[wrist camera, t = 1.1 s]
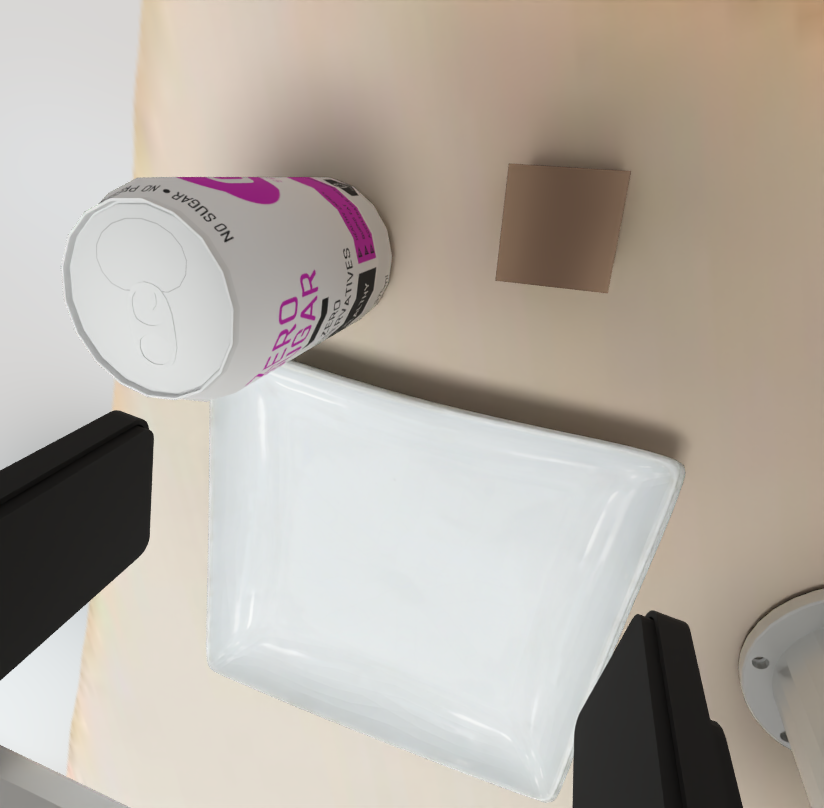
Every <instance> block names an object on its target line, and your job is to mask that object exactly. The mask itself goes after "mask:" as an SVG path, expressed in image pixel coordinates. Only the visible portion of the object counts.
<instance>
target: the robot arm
mask: <svg viewBox="0 0 824 808" xmlns="http://www.w3.org/2000/svg"><path fill="white" fill-rule="evenodd" d="M153 445H154V436H153V433H152V431H150V430H149V427H148V424H147V422H146V421H145V420H143V419H140V418H138V417H135V416H132V415H130V414H127V413H124V412H122V411H117V410H115V411H112V412H109V413H108V414H106V415H104V416H102V417H100V418H98V419H96V420H94V421H93V422H91V423H89V424H87V425H85V426H83V427H81V428H80V429H78V430H76V431H74V432H72V433H70V434H68V435H66V436H65V437H63V438H61V439H59V440H57V441H55V442H53V443H51V444H49V445H47V446H46V447H44V448H42V449H40V450H38V451H36V452H34V453H32V454H30V455H29V456H27V457H25V458H23V459H21V460H19V461H18V462H15V463H14V464H12V465H10V466H8V467H6V468H4V469H2V470H0V680H1V679H3V678H4V677H5V676H6V675H7V674H8V673H9V672H10V671H11V670H12V669H14V668H15V667H16V666H17V665H18V664H19V663H21V662H22V661H23V660H24V659H25V658H26V657H27V656H28V655H29V654H31V653H32V652H33V651H34V650H35V649H36V648H37V647H38V646H40V645H41V644H42V643H43V642H44V641H45V640H46V639H47V638H49V637H50V636H51V635H52V634H53V633H54V632H55V631H56V630H58V629H59V628H60V627H61V626H62V625H63V624H64V623H65V622H67V621H68V620H69V619H70V618H71V617H72V616H73V615H74V614H75V613H76V612H78V611H79V610H80V609H81V608H82V607H83V606H84V605H86V604H87V603H88V602H89V601H90V600H91V599H92V598H93V597H95V596H96V595H97V594H98V593H99V592H100V591H101V590H102V589H104V588H105V587H106V586H107V585H108V584H109V583H110V582H111V581H113V580H114V579H115V578H116V577H117V576H118V575H119V574H120V573H122V572H123V571H124V570H125V569H126V568H127V567H128V566H129V565H131V564H132V563H133V562H134V561H135V560H136V559H137V558H138V557H139V556H140V555H141V554H142V553H143V552H144V550H145V549H146V547H147V545H148V542H149V537H150V515H151V492H152V468H153ZM738 671H739V679H740V685H741V688H742V691H743V695H744V698H745V702H746V704H747V706H748V707H749V709H750V711H751V713H752V715H753V717H754V718H755V719H756V720H757V722H758V723H759V724H760V725H761V726H762V728H763V729H764V730H765V731H766V732H767V733H768V734H769V735H770V736H772V737H773V738H774V739H775V740H776V741H777V742H779V743H780V744H782V745H783V746H785V747H787V748H788V749H790V750H792V752H793V755H794V758H795V761H796V764H797V767H798V770H799V773H800V776H801V779H802V782H803V785H804V788H805V791H806V794H807V797H808V800H809V803H810V806H811V808H824V589H820V590H815V591H813V592H810V593H807V594H804V595H802V596H799V597H796V598H793V599H791V600H790V601H788V602H786V603H784V604H782V605H781V606H779V607H777V608H775V609H774V610H772V611H771V612H770V613H769V614H768V615H766V616H765V617H764V618H763V619H761V620H760V621H759V622H758V623H757V625H756V626H755V627H754V628H753V630H752V631H751V632H750V634H749V635H748V636H747V638H746V640H745V643H744V645H743V647H742V649H741V652H740V659H739V665H738ZM0 808H130V807H128V806H126V805H124V804H121V803H119V802H117V801H115V800H113V799H111V798H109V797H107V796H105V795H103V794H101V793H99V792H97V791H95V790H93V789H91V788H89V787H86V786H84V785H82V784H80V783H78V782H76V781H74V780H72V779H70V778H68V777H66V776H64V775H62V774H60V773H57V772H55V771H53V770H51V769H49V768H47V767H45V766H43V765H41V764H39V763H37V762H34V761H32V760H30V759H28V758H26V757H24V756H22V755H20V754H18V753H16V752H14V751H12V750H9V749H7V748H5V747H3V746H1V745H0ZM573 808H743V806H742V802H741V798H740V794H739V790H738V785H737V781H736V777H735V773H734V769H733V765H732V761H731V757H730V753H729V749H728V745H727V741H726V737H725V735H724V732H723V729H722V728H721V726H720V725H719V724H718V723H717V722H715V721H712V720H710V717H709V713H708V708H707V704H706V699H705V695H704V690H703V686H702V681H701V677H700V672H699V668H698V664H697V659H696V655H695V650H694V646H693V641H692V637H691V632H690V629H689V626H688V624H687V623H685V622H683V621H680V620H678V619H675V618H672V617H670V616H667V615H664V614H662V613H659V612H656V611H650V612H648V613H647V615H646V616H642V615H639V614H637V615H635V616H634V618H633V619H632V621H631V623H630V624H629V626H628V628H627V630H626V631H625V633H624V635H623V637H622V639H621V640H620V642H619V644H618V646H617V647H616V649H615V651H614V653H613V654H612V656H611V658H610V660H609V662H608V663H607V665H606V667H605V669H604V670H603V672H602V674H601V676H600V678H599V679H598V681H597V683H596V685H595V686H594V688H593V690H592V692H591V694H590V695H589V697H588V699H587V701H586V702H585V704H584V706H583V708H582V710H581V711H580V713H579V715H578V718H577V721H576V725H575V731H574V764H573Z"/></svg>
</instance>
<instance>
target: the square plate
mask: <svg viewBox="0 0 824 808" xmlns="http://www.w3.org/2000/svg"><path fill="white" fill-rule="evenodd" d="M684 478H685V469H684V465H683V464H682V463H680V462H679V461H677V460H675V459H673V458H670V457H666V456H663V455H660V454H657V453H653V452H650V451H646V450H643V449H639V448H635V447H631V446H626V445H622V444H617V443H613V442H609V441H605V440H600V439H595V438H590V437H585V436H580V435H576V434H571V433H566V432H562V431H557V430H552V429H548V428H543V427H539V426H534V425H529V424H525V423H520V422H515V421H511V420H507V419H502V418H498V417H494V416H489V415H485V414H481V413H476V412H472V411H468V410H464V409H460V408H455V407H451V406H447V405H443V404H439V403H435V402H431V401H427V400H424V399H420V398H416V397H412V396H409V395H405V394H401V393H398V392H394V391H390V390H387V389H383V388H380V387H377V386H374V385H370V384H367V383H364V382H360V381H357V380H354V379H350V378H347V377H344V376H340V375H337V374H334V373H331V372H328V371H325V370H321V369H318V368H315V367H312V366H309V365H305V364H302V363H299V362H296V361H293V360H290V361H288V362H287V363H285V364H283V365H282V366H280V367H278V368H277V369H275V370H273V371H272V372H270V373H268V374H266V375H265V376H263V377H261V378H260V379H258V380H256V381H255V382H253V383H251V384H249V385H248V386H246V387H244V388H243V389H241V390H239V391H238V392H236V393H234V394H230V395H227V396H224V397H220V398H217V399H214V400H211V401H210V434H209V532H208V578H207V638H206V651H207V662H208V665H209V667H210V668H211V669H212V670H213V671H215V672H216V673H218V674H220V675H222V676H224V677H227V678H229V679H232V680H234V681H236V682H239V683H241V684H243V685H246V686H248V687H250V688H253V689H255V690H257V691H260V692H262V693H264V694H267V695H269V696H271V697H274V698H276V699H278V700H281V701H283V702H286V703H288V704H290V705H293V706H295V707H298V708H300V709H303V710H305V711H307V712H310V713H312V714H315V715H317V716H319V717H322V718H324V719H327V720H329V721H332V722H335V723H337V724H339V725H342V726H344V727H347V728H349V729H352V730H354V731H357V732H359V733H362V734H364V735H367V736H369V737H372V738H374V739H377V740H379V741H382V742H384V743H387V744H390V745H392V746H395V747H397V748H400V749H403V750H405V751H408V752H410V753H413V754H415V755H418V756H420V757H423V758H426V759H428V760H431V761H433V762H436V763H438V764H441V765H444V766H446V767H449V768H452V769H454V770H457V771H460V772H462V773H465V774H467V775H470V776H473V777H475V778H478V779H481V780H483V781H486V782H489V783H491V784H494V785H497V786H499V787H502V788H505V789H507V790H510V791H513V792H515V793H518V794H521V795H524V796H527V797H530V798H533V799H536V800H538V801H541V802H545V803H546V802H552V801H554V800H555V799H556V797H557V796H558V794H559V792H560V790H561V788H562V785H563V783H564V780H565V778H566V775H567V773H568V770H569V768H570V765H571V762H572V760H573V757H574V731H575V725H576V721H577V718H578V715H579V713H580V711H581V710H582V708H583V706H584V704H585V702H586V701H587V699H588V697H589V695H590V694H591V692H592V690H593V688H594V686H595V685H596V683H597V681H598V679H599V678H600V676H601V674H602V672H603V670H604V669H605V667H606V665H607V663H608V662H609V660H610V658H611V656H612V654H613V652H614V649H615V647H616V644H617V642H618V640H619V637H620V635H621V632H622V630H623V627H624V625H625V623H626V620H627V618H628V615H629V613H630V611H631V608H632V606H633V604H634V601H635V599H636V597H637V594H638V592H639V590H640V587H641V585H642V583H643V580H644V578H645V576H646V573H647V571H648V569H649V566H650V564H651V562H652V559H653V557H654V555H655V552H656V550H657V548H658V545H659V543H660V541H661V538H662V536H663V533H664V531H665V528H666V526H667V524H668V521H669V519H670V516H671V514H672V511H673V509H674V506H675V504H676V501H677V498H678V496H679V493H680V490H681V487H682V484H683V481H684Z"/></svg>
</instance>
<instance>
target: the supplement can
mask: <svg viewBox="0 0 824 808" xmlns="http://www.w3.org/2000/svg"><path fill="white" fill-rule="evenodd" d="M391 261H392V253H391V248H390V242H389V237H388V232H387V228H386V227H385V225H384V223H383V221H382V219H381V218H380V216H379V214H378V212H377V210H376V208H375V207H374V205H373V204H372V203H371V202H370V201H369V200H368V199H366V198H365V197H364V196H363V195H362V194H361V193H360V192H359V191H358V190H357V189H356V188H354V187H353V186H350V185H348V184H345V183H343V182H340V181H338V180H335V179H333V178H330V177H152V178H136V179H134V180H132V181H130V182H128V183H127V184H125V185H123V186H121V187H119V188H117V189H115V190H113V191H112V192H110V193H108V194H107V195H106V196H105V197H104V199H103V200H102V201H101V202H100V203H99V204H98V205H96V206H94V207H93V208H90V209H89V210H87V211H85V212H84V213H83V215H82V216H81V218H80V219H79V220H78V222H77V223H76V225H75V226H74V227H73V229H72V230H71V232H70V233H69V235H68V237H67V242H66V246H65V251H64V255H63V260H62V264H61V271H62V283H63V294H64V301H65V304H66V307H67V309H68V312H69V315H70V318H71V320H72V323H73V326H74V328H75V331H76V333H77V335H78V336H79V338H80V339H81V341H82V342H83V344H84V345H85V347H86V348H87V350H88V351H89V353H90V354H91V355H92V357H93V359H94V360H95V361H96V362H97V363H98V364H99V365H100V366H101V367H102V368H103V369H104V370H106V371H107V372H108V373H109V374H110V375H111V376H112V377H113V378H114V379H115V380H117V381H118V382H119V383H120V384H122V385H124V386H126V387H128V388H130V389H132V390H134V391H136V392H138V393H140V394H142V395H145V396H147V397H151V398H161V399H170V400H178V399H185V400H194V401H204V402H207V401H211V400H214V399H217V398H220V397H224V396H227V395H230V394H234V393H236V392H238V391H239V390H241V389H243V388H244V387H246V386H248V385H249V384H251V383H253V382H255V381H256V380H258V379H260V378H261V377H263V376H265V375H266V374H268V373H270V372H272V371H273V370H275V369H277V368H278V367H280V366H282V365H283V364H285V363H287V362H288V361H290V360H292V359H294V358H295V357H297V356H299V355H300V354H302V353H304V352H305V351H307V350H309V349H311V348H312V347H314V346H316V345H317V344H319V343H321V342H322V341H324V340H326V339H327V338H329V337H331V336H333V335H334V334H336V333H338V332H339V331H341V330H343V329H344V328H346V327H348V326H349V325H351V324H353V323H355V322H356V321H358V320H360V319H361V318H362V317H363V316H364V315H365V314H367V313H368V312H369V311H370V310H371V309H372V308H374V307H375V306H376V305H377V304H378V302H379V300H380V298H381V296H382V294H383V292H384V290H385V289H386V287H387V285H388V283H389V276H390V269H391Z"/></svg>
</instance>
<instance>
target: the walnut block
mask: <svg viewBox="0 0 824 808" xmlns="http://www.w3.org/2000/svg"><path fill="white" fill-rule="evenodd" d="M630 174H631V171H620V170H604V169H588V168H571V167H555V166H539V165H523V164H509V167H508V176H507V184H506V193H505V202H504V210H503V219H502V228H501V236H500V245H499V254H498V262H497V271H496V280H495V281H504V282H513V283H522V284H530V285H539V286H548V287H557V288H566V289H575V290H583V291H592V292H601V293H608V289H609V284H610V279H611V273H612V268H613V263H614V258H615V252H616V247H617V242H618V237H619V232H620V226H621V221H622V216H623V211H624V205H625V200H626V195H627V190H628V184H629V179H630Z"/></svg>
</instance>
